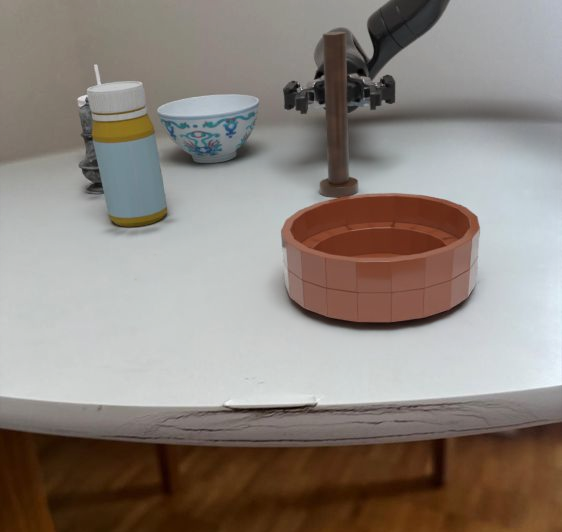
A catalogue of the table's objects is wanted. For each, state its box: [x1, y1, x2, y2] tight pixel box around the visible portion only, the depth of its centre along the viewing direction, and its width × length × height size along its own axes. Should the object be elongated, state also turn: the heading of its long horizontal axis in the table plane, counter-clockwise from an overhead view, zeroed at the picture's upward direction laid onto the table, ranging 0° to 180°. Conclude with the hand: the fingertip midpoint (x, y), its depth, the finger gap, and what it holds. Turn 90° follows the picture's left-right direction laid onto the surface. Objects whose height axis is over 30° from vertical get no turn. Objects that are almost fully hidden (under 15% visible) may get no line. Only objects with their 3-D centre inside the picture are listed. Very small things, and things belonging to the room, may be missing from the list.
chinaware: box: [156, 93, 260, 164], centre depth 104 cm, size 15×15×8 cm
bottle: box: [86, 80, 168, 228], centre depth 80 cm, size 7×7×15 cm
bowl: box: [280, 192, 481, 323], centre depth 61 cm, size 17×17×6 cm
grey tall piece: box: [78, 97, 104, 195], centre depth 93 cm, size 6×6×12 cm
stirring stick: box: [319, 31, 359, 198], centre depth 83 cm, size 5×5×18 cm
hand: (337, 103), depth 84 cm, fingers open, 8 cm apart
